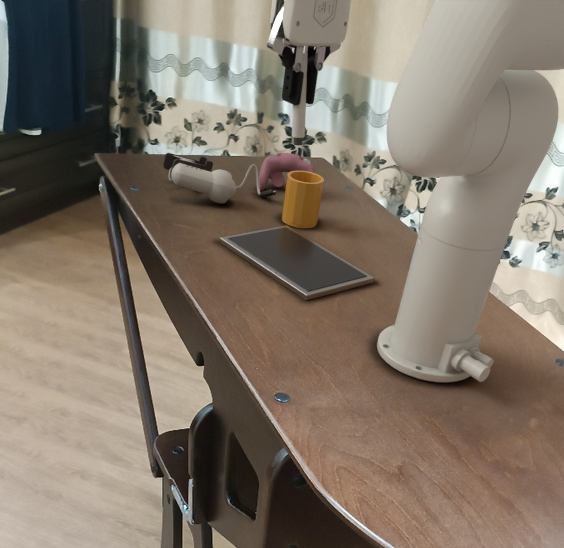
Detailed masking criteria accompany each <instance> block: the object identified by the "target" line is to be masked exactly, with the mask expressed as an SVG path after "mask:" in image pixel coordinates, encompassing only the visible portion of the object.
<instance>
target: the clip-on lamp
mask: <svg viewBox="0 0 564 548" xmlns="http://www.w3.org/2000/svg"><path fill="white" fill-rule="evenodd" d="M162 162H163V163H162V167H163V169H165V170H167V171H169V172H168V180H169V182H170V183H171V182H172V183H173V184H174V185H175V186H177V187H181V188H183V189H187V190H191V191H195V192H198V193H201V194H204V195H207V197H208V199H210V200H211V202H214V203H216V204H220V205H221V204H226V203H227V202H228V200H230V199H232V198H234V196H235V195H236V193H237V191H238V190H240V189H242V188H243V186H244V185H245V183H246V181H247V179H248V177H249V174H250V172H251V170H252V168H254V170H255V176H256V190H257V194H258V195H259V197H262V198H263V199H264V198H265V199H266V198H268V197H272V196H276V195H277V193H278V191H277V190H276V189H274V188H273V189H272V188H271V189H266V190H262V191H261V190H260V188H259V169H258V166H257V165H256V164H255V163H251V165H249V167H248V169H247V171H246V173H245V176H244V178H243V180H242V182H241V184H240V185H238V186H237V184H236V182H235V180H234V179H233V175H232V174H231V172H229V171H228V170H225V169H221V168H220V169H215V170H213V166H214V162H213V161H211V160H208V158H207V157H205V156H202V155H201V156H199V158H198V160H197V159H193V158H189V157H186V156H182V155H179V154H175V153H171V152H166V153H165V154H164V157H163V161H162ZM212 170H213V171H212Z"/></svg>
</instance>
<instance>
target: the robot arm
mask: <svg viewBox="0 0 564 548" xmlns="http://www.w3.org/2000/svg"><path fill="white" fill-rule="evenodd" d="M351 2H352V0H271V6H270V17H269V18H270V19H269V31H270V32H269V36H268V38H267V41H266V47H267V49H269V50H270V51H273V52H274V53H275V54H277V55H278V57H279V59H280V61H281V62H280V63H281V66H282V67H283V68H284V75H283V82H282V92H281V99H282V100H283V101H285V102H286V103H289V104H290V105H292V106H293V105H299V104H300V100H301V93H302V85H303V78H304V72H301V71H300V70H301V67H302V59H303V53H308V60H307V87H306V105H313V104H314V102H315V97H316V90H317V82H318V75H319V72H321V71H322V70H323V68H324V63H325V62H326V60H327V59H328V58H329V56H330V55H332V54H333V53H335V52H336V51H338V50H340V49H341V47H342V46H341V45H342V43H344V42H345V40H346V37H347V33H348V27H349V21H350V20H349V19H350V13H351V12H350V11H351ZM559 70H564V0H434V2H433V4H432V6H431V8H430V11H429V14H428V16H427V18H426V20H425V22H424V25H423V26H422V29H421V30H420V33H419V35H418V38H417V40H416V42H415V45H414V47H413V48H412V51H411V53H410V56H409V57H408V60H407V62H406V64H405V67H404V69H403V71H402V73H401V76H400V78H399V79H398V83H397V85H396V87H395V90H394V93H393V96H392V99H391V102H390V105H389V110H388V114H387V119H386V120H387V121H386V142H387V148H388V151H389V154H390V157H391V159H392V160H393V162H394V163H395V164H396V166H397V167H398V168H400V169H401V171H403V172H405V173H407V174H409V175H410V176H414V177H418V178H419V177H420V178H439V179H438V181H437V182H436V184H435V186H434V187H433V189H432V192H431V194H430V196H429V198H428V200H427V203H426V205H425V209H424V212H423V216H422V219H421V223H420V226H419V231H418V233H417V237H416V241H415V242H416V243H415V246H414V249H413V254H412V257H411V261H410V265H409V267H408V268H409V269H408V272H407V276H406V280H405V284H404V288H403V292H402V295H401V300H400V303H399V307H398V310H397V316H396V319H395V323H394V324H392V325H390V326H387V327H386V328H384V329H383V330H382V331H380V333H379V335H378V338H377V343H376V348H377V349H376V350H377V352H378V354H379V356H380V357H381V359H382V360H383V361H385V363H386V364H387V365H389V366H390V367H391V368H393V369H395V370H397V371H398V372H400V373H402V374H404V375H406V376H409V377H412V378H414V379H418V380H422V381H427V382H433V383H455V382H459V381H463V380H466V379H467V378H469V377H472V378H473V379H475V380H476V381H478V382H479V383H483V382H484V381H485V380H486V379H488V377H489V375H490V373H491V368H492V366H493V365H494V363H495V360H494V358H492V357H491V356H489V355H487V354H484V353H483V352H481V351H480V348H479V347H480V344H481V341H482V338H483V336H482V335H480V334H479V333H477V332H476V331H477V328H478V326H479V322H480V319H481V316H482V313H483V311H484V308H485V305H486V302H487V300H488V296H489V293H490V290H491V288H492V284H493V282H494V279H495V276H496V274H497V270H498V268H499V264H500V262H501V258H502V255H503V253H504V250H505V247H506V245H507V243H508V240H509V237H510V234H511V231H512V229H513V225H514V223H515V220H516V217H517V216H518V215H517V214H518V212H519V209H520V207H521V205H522V202H523V200H524V197H525V196H526V194H527V191H528V189H529V187H530V185H531V183H532V181H533V179H534V178H535V176H536V174H537V172H538V170H539V169H540V167H541V165H542V163H543V161H544V160H545V158H546V156H547V154H548V152H549V150H550V148H551V145H552V143H553V141H554V137H555V134H556V131H557V127H558V123H559V122H558V121H559V101H558V98H557V93H556V91H555V89H554V87H553V86H552V84H551V83H550V81H549V80H548V79H547V78H546V77H545V76H544V75H543V74H541V73H540V72H539V71H559Z"/></svg>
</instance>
